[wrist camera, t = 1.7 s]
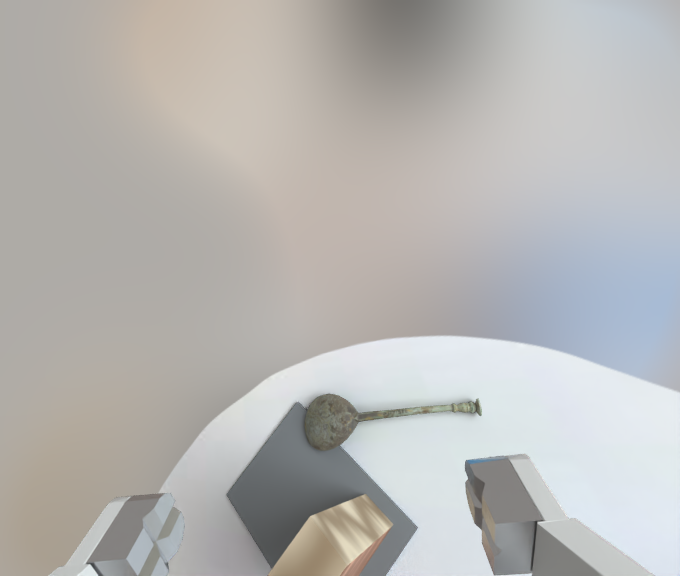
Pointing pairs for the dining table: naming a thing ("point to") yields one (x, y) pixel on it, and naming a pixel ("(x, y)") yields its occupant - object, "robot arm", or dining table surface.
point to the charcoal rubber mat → (308, 493)
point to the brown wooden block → (335, 541)
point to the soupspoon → (357, 418)
